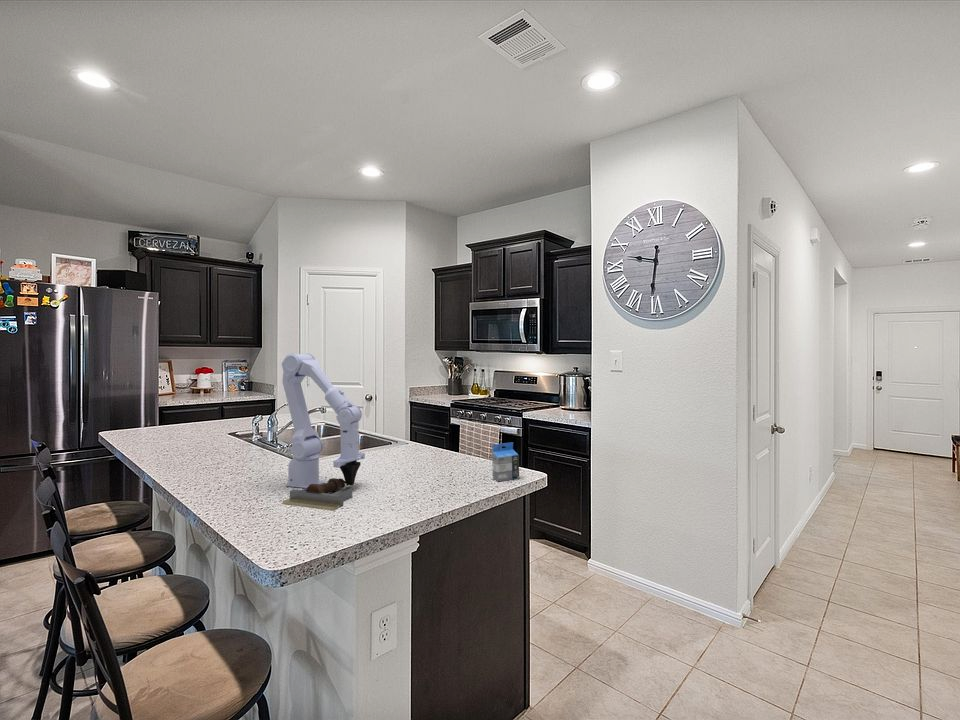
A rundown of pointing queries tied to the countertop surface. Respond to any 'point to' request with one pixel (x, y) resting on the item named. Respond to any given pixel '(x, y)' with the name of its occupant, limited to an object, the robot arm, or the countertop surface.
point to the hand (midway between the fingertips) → (349, 484)
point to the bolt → (327, 486)
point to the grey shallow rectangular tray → (319, 498)
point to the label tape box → (505, 462)
